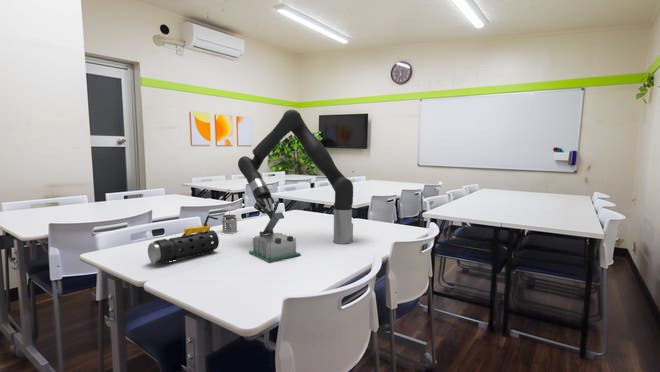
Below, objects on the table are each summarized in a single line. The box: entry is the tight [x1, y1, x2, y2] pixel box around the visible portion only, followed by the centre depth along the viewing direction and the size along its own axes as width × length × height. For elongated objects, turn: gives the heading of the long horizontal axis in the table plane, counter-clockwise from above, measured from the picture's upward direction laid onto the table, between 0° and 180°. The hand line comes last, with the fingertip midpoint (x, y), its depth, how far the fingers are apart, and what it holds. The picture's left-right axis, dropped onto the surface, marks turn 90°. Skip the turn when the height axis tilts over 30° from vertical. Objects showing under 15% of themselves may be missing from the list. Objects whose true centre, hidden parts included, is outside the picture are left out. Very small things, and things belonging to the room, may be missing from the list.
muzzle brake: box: [147, 229, 220, 265], centre depth 153 cm, size 10×28×10 cm, turn 142°
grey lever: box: [262, 211, 285, 235], centre depth 159 cm, size 4×16×3 cm
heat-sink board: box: [248, 229, 302, 264], centre depth 159 cm, size 16×18×10 cm
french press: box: [219, 188, 239, 235], centre depth 201 cm, size 10×12×25 cm
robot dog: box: [181, 215, 219, 236], centre depth 179 cm, size 6×18×13 cm, turn 127°
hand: (273, 219), depth 158 cm, fingers closed
